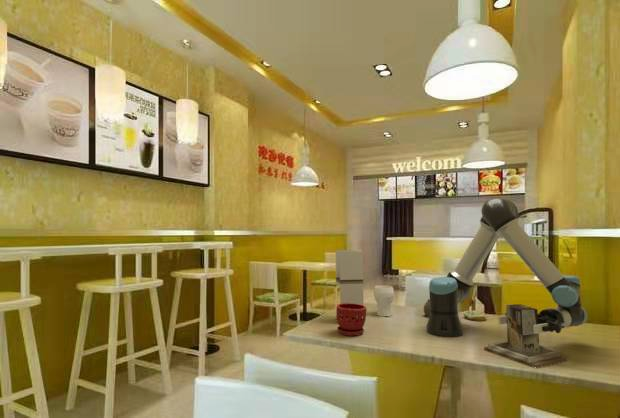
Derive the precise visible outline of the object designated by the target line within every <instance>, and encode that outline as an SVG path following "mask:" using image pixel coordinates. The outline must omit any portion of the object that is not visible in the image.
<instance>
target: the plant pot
mask: <svg viewBox="0 0 620 418" xmlns="http://www.w3.org/2000/svg"><path fill="white" fill-rule="evenodd" d="M336 315H337V319H336V320H337V323H338V327H337V328H336V329H337V331H338V332H339V334H341V335H343V336H359V335H362V334H363V333H364V331H365V329H364V325H365V322H366V319H367V307H366V306H365V305H364V304H363V305H360V304H353V303H343V304H340V303H339V304H337V305H336ZM341 315H342V316H341ZM357 316H358V317H357ZM362 316H363V319H362Z"/></svg>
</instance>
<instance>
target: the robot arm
mask: <svg viewBox="0 0 620 418" xmlns="http://www.w3.org/2000/svg"><path fill="white" fill-rule="evenodd" d="M518 216H519V209H518V207H517V205H516V204H515V203H514V202H513V201H511V200H509V199H508V198H507V199H506V198H502V197H492V198H489V199H487V200H486V201H485V202H484V204H482V207H481V218H480V220H479V223H480V227H478V228H479V229H478V230H477V232H476V233H475V235H474V237H473V238H472V240H471V241H470V243H469V245H468V247H467V248H466V250H465V252H464V254H463V255H462V256H461V259H460V260H459V262H458V264H457V265H456V267H455V268H454V269H451V270H449V272H448V273H447V275H446V276H439V277H433V278H432V279H431V280H430V281H429V286H428V291H429V299H430V316H429V317H428V320H427V324H426V332H427V333H429V334H431V335H434V336H437V337H438V336H439V337H448V338H450V337H451V338H452V337H460V336H463V334H464V328H463V326H462V323H461V319H460V317H459V305H458V304H459V303H462V302H465V301H466V300H467V299H468V297H469V296H470V293H471V289H472V287H473V286H474V280H473V279H474V277H475V276H476V274H477V273H478V271H479V269H480V268H481V266H482V265H483V263H484V261H485V260H486V259H487V256H488V255H489V253H491V250H492V248H493V247H494V246H495V244H496V242H497V240H498V239H499V237H500V236H501V237H503V239H504V240H505V241H506V242H507V243H508V245H509V246H510V247H511V248H512V249H513V251H515V253H516V254H517V255H518V257H519V258H520V259H521V260H522V262H524V264H525V265H526V266H527V267H528V269H529V270H530V271H531V272H532V273H533V274H534V276H535V277H536V278H537V280H539V282H540V283H541V284H542V286H544V287H545V289H546V290H547V291H548V293H549V294H550V295H551V298H552V301H553V302H555V304H557V307H552V308H545V309H542V310H541V311H540V312H539V313H538V325H533V326H534V333H535V334H538V333H539V334H543V333H548V332H550V333H554V332H555V333H556V334H560V333H561V332H562V330H563V329H566V328H570V327H571V328H572V327H579V326H580V325H581V326H582V325H583V324H585V323H586V322H587V321H588V316H589V315H588V313H587V311H586V309H585V308H584V307H582V301H581V298H582V297H581V296H582V295H581V293H582V292H581V282H580V278H579V277H578V276H575V275H565V274H564V275H563V274H562V272H561V271H560V270H559V269H558V268H557V266H556V265H555V264H554V263H553V262H552V261H551V260H550V258H549V257H548V256H547V255H546V254H545V252H543V250H542V249H541V248H540V246H539V245H537V244H536V242H535V241H534V240H533V239H532V238H531V236H530V235H528V233H527V232H526V231H525V230H524V229H523V227H522V226H521V225H520V224H519V219H518ZM497 322H498V325H505V324H506V325H507V317H506V312H505V313H504V315H501V316H498V317H497Z"/></svg>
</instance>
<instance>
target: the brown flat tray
mask: <svg viewBox="0 0 620 418" xmlns="http://www.w3.org/2000/svg"><path fill="white" fill-rule="evenodd" d="M539 349H540V355H535V356H525V355H522V354H519V353H516V352H514V351H512V350H510V349H508V340H505V341H500V342H499V341H498V342H494V343H493V342H492V343H488V344H487V346H484V347H483V350H484V351H487V352H490V353H492V354H495V355H497V356H501V357H503V356H504V358H506V357H507V358H506V359H509V358H510V359H509V360H512V359H513V361H515V360H516V361H515V362H518V363H520V362H521V364H523V363H524V365H526V364H527V365H526V366H529V365H530V367H532V366H533V367H532V368H534V367H536V368H535V369H538V368H537V367H539V368H542V367H541V366H543V367H547V366H551V365H550V364H552V365H554V363H556V364H559V363H558V362H560V363H563V361H564V362H567V361H568V358H567V357H566V356H563V355H561V351H560V350H557V349H553V348H550V347H547V346H543V345H540V344H539ZM546 365H547V366H546Z"/></svg>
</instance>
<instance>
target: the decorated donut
mask: <svg viewBox="0 0 620 418" xmlns="http://www.w3.org/2000/svg"><path fill="white" fill-rule="evenodd" d="M462 315H463V316H464V318H465V319H466V320H470V321H473V322H484V321H485V320H486V318H487V314H486V313H485V312H483V311H480V310H474V309H472V310H471V309H470V310H465V311H463V314H462Z"/></svg>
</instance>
